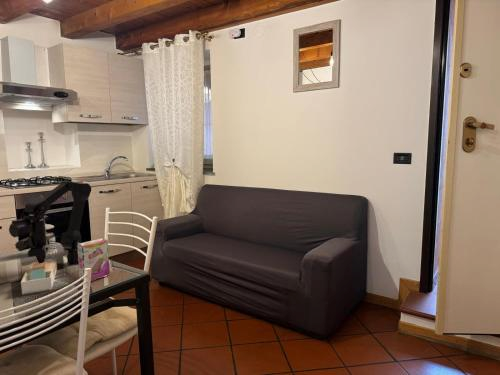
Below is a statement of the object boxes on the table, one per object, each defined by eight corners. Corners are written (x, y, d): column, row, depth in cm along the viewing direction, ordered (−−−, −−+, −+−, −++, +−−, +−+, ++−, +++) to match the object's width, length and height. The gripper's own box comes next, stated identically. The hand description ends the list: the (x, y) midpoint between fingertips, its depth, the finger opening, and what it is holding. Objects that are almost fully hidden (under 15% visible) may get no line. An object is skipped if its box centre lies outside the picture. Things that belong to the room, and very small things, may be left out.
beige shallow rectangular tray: (57, 267, 161) (56, 259, 161) (54, 279, 147) (53, 270, 147) (32, 270, 157) (31, 262, 157) (26, 283, 143) (25, 274, 142)
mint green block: (45, 270, 145) (44, 268, 143) (45, 281, 143) (44, 280, 141) (31, 272, 143) (30, 270, 141) (32, 284, 141) (30, 282, 139)
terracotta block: (47, 267, 150) (47, 262, 150) (45, 271, 146) (45, 265, 145) (34, 269, 149) (33, 263, 148) (32, 273, 144) (31, 267, 144)
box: (54, 279, 147) (53, 268, 146) (51, 289, 137) (50, 277, 137) (26, 284, 143) (25, 272, 142) (22, 294, 133) (20, 282, 132)
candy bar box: (85, 284, 142) (81, 246, 139) (79, 281, 145) (76, 243, 143) (110, 275, 150) (107, 239, 148) (104, 273, 153) (102, 237, 151)
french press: (62, 250, 186) (58, 205, 182) (41, 257, 176) (36, 209, 172) (50, 248, 190) (46, 204, 186) (29, 254, 180) (24, 208, 176)
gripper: (19, 228, 153) (23, 261, 156) (11, 239, 137) (15, 276, 139) (48, 225, 158) (51, 257, 160) (43, 235, 141) (47, 271, 143)
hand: (41, 265), depth 150 cm, fingers closed
